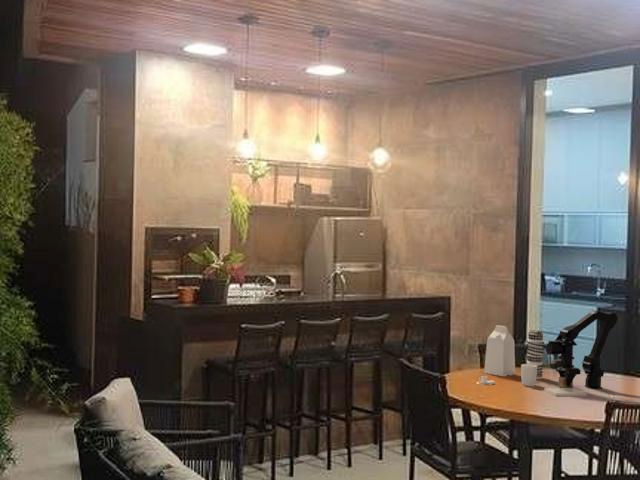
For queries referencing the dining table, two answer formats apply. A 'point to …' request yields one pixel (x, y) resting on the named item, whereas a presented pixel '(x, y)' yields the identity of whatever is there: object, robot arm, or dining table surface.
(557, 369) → the robot arm
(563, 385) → the walnut block
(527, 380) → the white cup
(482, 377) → the teacup and saucer
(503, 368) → the milk
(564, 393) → the plate
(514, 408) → the dining table surface
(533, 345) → the decorative candle
